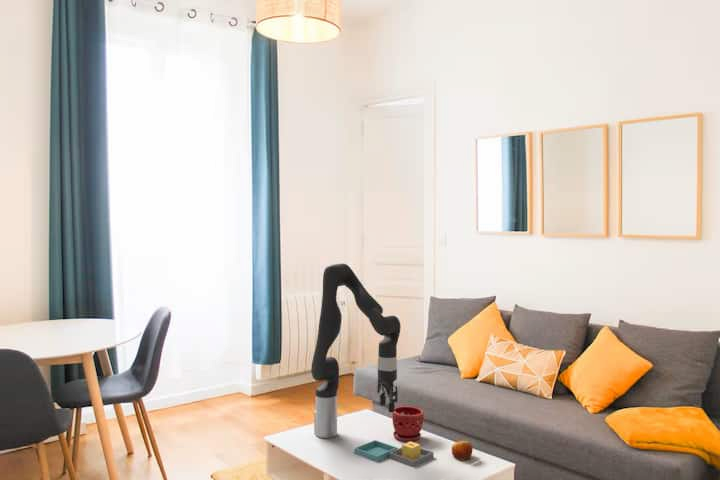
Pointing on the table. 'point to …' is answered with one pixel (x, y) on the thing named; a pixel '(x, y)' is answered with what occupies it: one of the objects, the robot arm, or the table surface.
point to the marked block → (411, 450)
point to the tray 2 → (397, 456)
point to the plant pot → (407, 423)
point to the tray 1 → (374, 450)
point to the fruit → (462, 450)
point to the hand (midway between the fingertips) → (387, 408)
